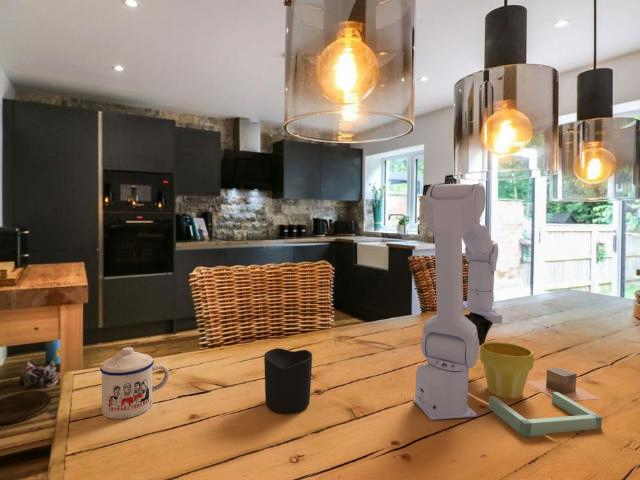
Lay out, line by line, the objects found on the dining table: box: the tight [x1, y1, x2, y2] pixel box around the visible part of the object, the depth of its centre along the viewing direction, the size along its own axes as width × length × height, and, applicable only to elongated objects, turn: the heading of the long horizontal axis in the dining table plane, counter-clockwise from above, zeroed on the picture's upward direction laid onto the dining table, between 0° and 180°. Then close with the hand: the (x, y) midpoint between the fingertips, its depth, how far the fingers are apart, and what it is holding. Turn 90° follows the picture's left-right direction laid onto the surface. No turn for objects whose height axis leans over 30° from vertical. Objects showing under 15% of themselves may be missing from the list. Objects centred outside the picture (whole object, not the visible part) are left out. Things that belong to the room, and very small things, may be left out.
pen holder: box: [263, 347, 313, 415], centre depth 76 cm, size 9×9×10 cm
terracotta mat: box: [525, 379, 601, 402], centre depth 85 cm, size 10×10×1 cm
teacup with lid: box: [99, 346, 170, 420], centre depth 74 cm, size 12×9×12 cm
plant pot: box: [479, 341, 535, 400], centre depth 84 cm, size 10×10×10 cm
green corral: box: [488, 392, 603, 438], centre depth 73 cm, size 15×10×2 cm, turn 100°
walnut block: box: [545, 366, 577, 395], centre depth 85 cm, size 4×4×4 cm
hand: (478, 345), depth 94 cm, fingers closed
